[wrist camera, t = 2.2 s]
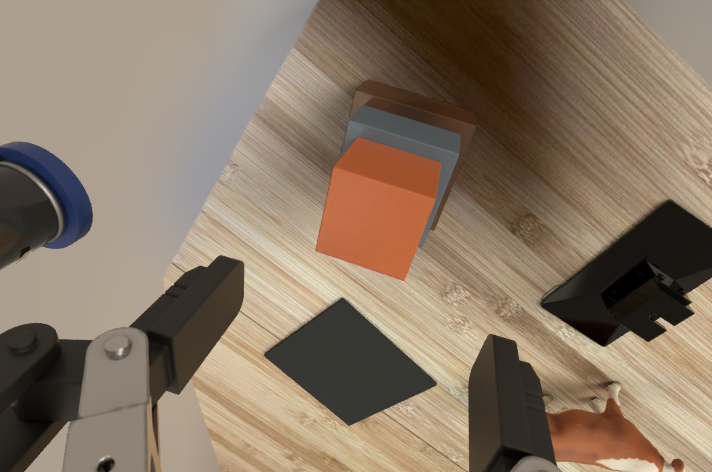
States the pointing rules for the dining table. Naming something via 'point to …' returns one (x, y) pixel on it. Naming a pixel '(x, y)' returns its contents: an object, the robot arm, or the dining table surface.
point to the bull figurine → (605, 438)
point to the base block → (420, 118)
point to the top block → (378, 207)
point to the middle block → (407, 143)
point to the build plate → (638, 279)
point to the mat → (348, 364)
